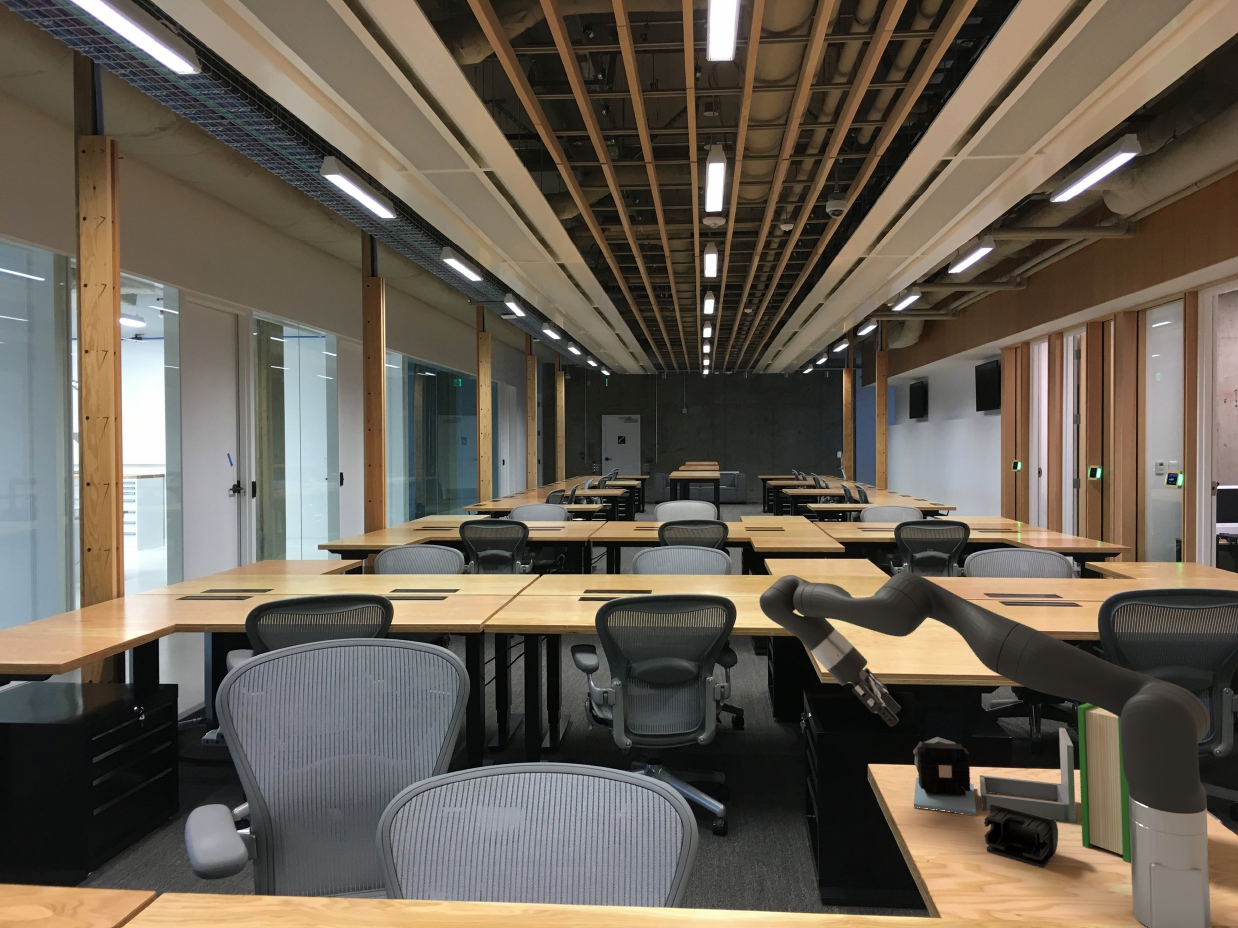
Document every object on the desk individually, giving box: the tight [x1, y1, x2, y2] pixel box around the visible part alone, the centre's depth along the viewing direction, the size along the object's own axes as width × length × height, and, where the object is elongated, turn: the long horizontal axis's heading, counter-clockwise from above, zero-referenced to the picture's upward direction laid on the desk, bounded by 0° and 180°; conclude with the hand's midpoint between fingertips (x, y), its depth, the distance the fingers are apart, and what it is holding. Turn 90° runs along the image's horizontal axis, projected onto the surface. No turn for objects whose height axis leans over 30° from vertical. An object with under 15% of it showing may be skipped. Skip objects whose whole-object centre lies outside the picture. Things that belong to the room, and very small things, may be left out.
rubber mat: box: [913, 777, 977, 816], centre depth 159 cm, size 14×11×1 cm
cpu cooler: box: [912, 736, 971, 796], centre depth 160 cm, size 10×6×10 cm, turn 80°
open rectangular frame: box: [979, 727, 1077, 823], centre depth 154 cm, size 11×16×14 cm
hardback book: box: [1077, 703, 1131, 864], centre depth 139 cm, size 18×7×24 cm, turn 124°
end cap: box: [983, 804, 1059, 869], centre depth 136 cm, size 10×7×7 cm
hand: (896, 717), depth 163 cm, fingers open, 8 cm apart
